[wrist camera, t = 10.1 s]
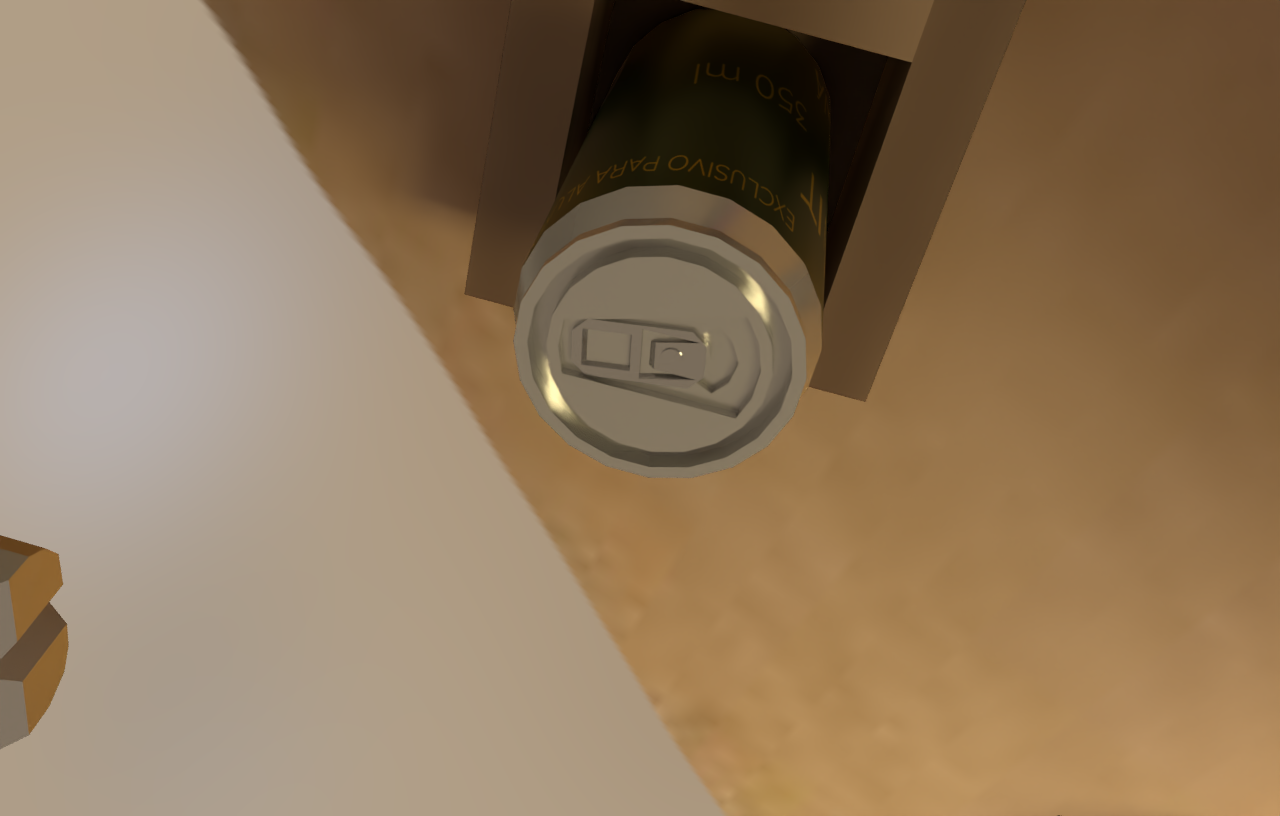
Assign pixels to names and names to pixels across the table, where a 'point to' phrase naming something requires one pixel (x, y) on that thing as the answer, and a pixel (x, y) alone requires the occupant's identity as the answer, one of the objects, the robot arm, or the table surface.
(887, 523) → the table surface
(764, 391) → the beer can
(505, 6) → the table surface
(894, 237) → the shelf
